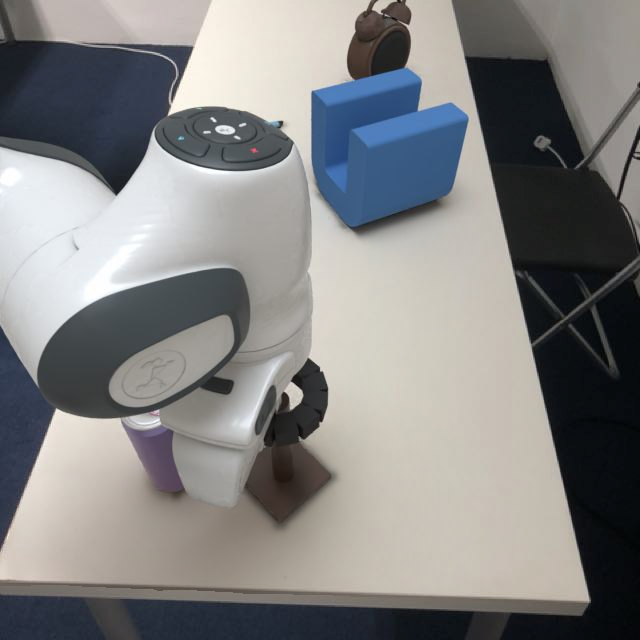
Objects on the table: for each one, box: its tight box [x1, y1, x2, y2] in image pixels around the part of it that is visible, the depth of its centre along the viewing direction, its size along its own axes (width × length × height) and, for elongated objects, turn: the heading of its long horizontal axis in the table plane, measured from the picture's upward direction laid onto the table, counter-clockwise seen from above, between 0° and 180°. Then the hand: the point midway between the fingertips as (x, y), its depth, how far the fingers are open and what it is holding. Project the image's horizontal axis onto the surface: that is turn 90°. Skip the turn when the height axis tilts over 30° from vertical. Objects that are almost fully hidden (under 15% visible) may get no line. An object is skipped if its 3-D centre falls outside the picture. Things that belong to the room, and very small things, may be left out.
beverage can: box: [119, 410, 185, 493], centre depth 62 cm, size 6×6×15 cm
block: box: [310, 67, 470, 228], centre depth 96 cm, size 18×18×18 cm
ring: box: [264, 357, 329, 448], centre depth 54 cm, size 10×10×2 cm
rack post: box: [245, 391, 332, 524], centre depth 61 cm, size 8×8×17 cm
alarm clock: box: [346, 0, 413, 81], centre depth 120 cm, size 15×7×20 cm, turn 132°
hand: (263, 425), depth 51 cm, fingers closed on ring, 2 cm apart
